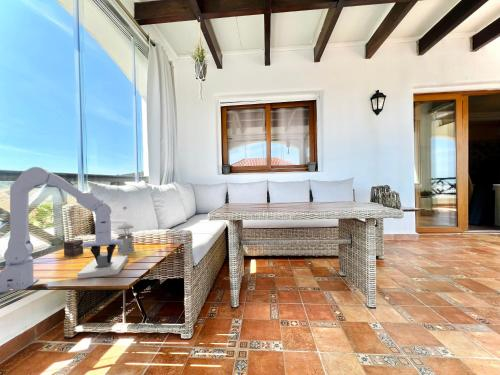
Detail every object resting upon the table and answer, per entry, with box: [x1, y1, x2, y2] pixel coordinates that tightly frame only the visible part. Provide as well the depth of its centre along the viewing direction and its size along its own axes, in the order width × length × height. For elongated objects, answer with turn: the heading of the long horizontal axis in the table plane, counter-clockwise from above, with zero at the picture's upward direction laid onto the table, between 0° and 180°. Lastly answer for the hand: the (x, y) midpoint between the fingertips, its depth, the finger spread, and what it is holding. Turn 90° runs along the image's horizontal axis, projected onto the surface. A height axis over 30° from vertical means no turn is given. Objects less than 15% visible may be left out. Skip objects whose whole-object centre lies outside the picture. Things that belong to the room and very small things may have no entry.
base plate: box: [77, 255, 129, 280], centre depth 103 cm, size 20×14×2 cm
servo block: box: [97, 252, 110, 268], centre depth 101 cm, size 5×4×5 cm
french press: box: [115, 206, 136, 256], centre depth 129 cm, size 10×12×25 cm
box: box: [63, 239, 84, 257], centre depth 125 cm, size 6×6×7 cm
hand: (104, 262), depth 101 cm, fingers closed on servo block, 3 cm apart
